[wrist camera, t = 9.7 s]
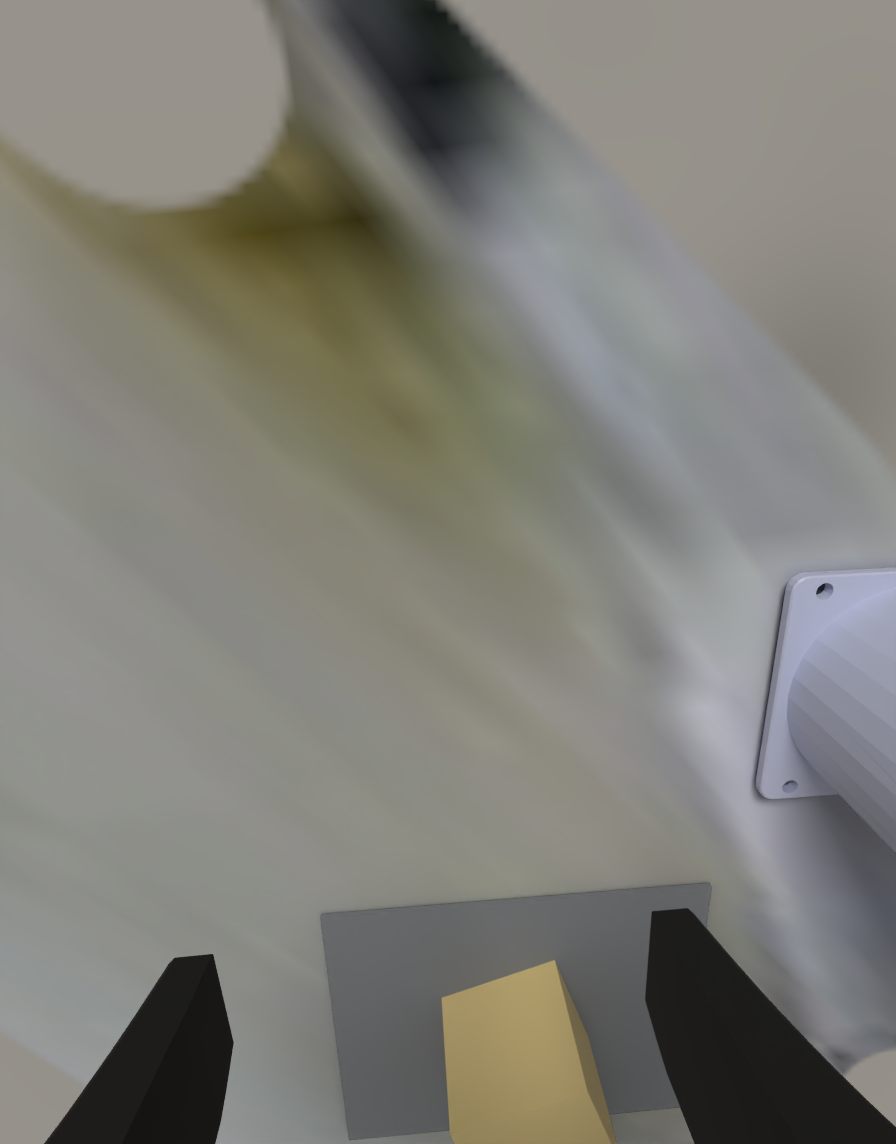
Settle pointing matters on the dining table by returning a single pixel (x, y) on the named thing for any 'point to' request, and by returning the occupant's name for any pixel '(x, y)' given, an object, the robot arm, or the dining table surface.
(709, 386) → the dining table surface
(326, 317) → the dining table surface
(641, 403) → the dining table surface
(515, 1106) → the block
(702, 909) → the placemat
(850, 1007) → the dining table surface
